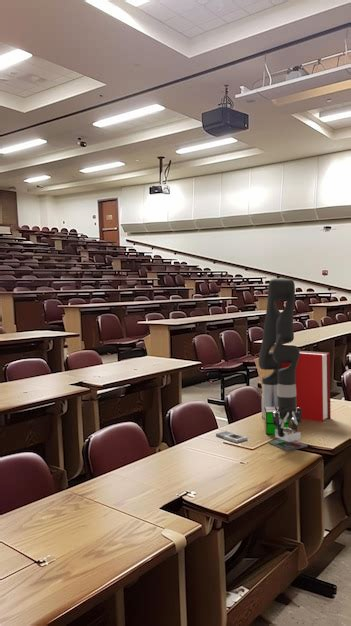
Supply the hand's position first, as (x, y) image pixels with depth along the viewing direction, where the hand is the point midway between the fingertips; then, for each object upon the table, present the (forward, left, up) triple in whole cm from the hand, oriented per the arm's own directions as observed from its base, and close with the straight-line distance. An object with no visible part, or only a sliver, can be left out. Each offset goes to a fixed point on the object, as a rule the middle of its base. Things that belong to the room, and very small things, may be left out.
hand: (287, 435), depth 196 cm
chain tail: (-20, -13, -4) cm, 25 cm away
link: (0, 0, -1) cm, 1 cm away
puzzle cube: (-17, +9, -4) cm, 20 cm away
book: (-30, +36, -4) cm, 47 cm away
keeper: (0, 0, -4) cm, 4 cm away
